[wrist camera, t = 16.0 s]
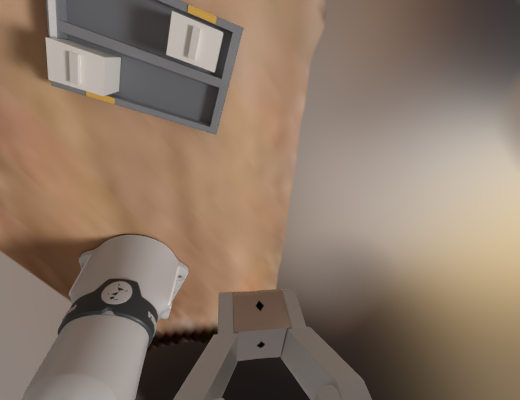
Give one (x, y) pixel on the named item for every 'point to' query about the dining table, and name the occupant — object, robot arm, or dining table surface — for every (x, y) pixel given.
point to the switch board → (150, 56)
